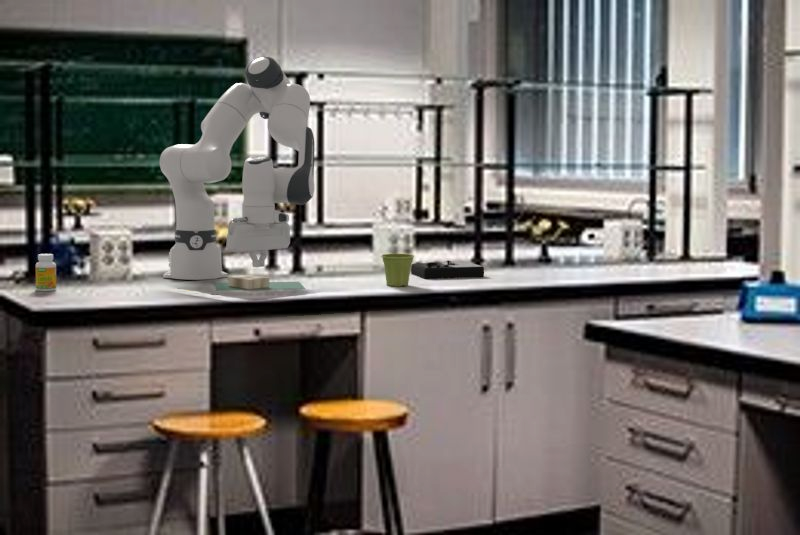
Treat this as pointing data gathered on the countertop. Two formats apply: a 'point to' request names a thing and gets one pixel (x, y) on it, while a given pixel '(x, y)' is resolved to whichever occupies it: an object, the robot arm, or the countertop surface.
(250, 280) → the brown wood block
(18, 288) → the countertop surface
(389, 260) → the plant pot
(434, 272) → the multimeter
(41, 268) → the supplement bottle
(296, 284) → the green mat
